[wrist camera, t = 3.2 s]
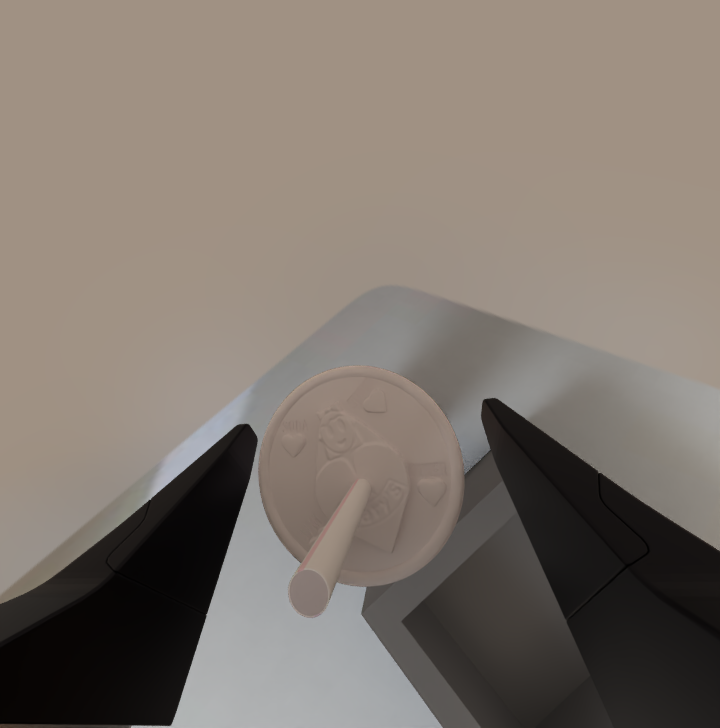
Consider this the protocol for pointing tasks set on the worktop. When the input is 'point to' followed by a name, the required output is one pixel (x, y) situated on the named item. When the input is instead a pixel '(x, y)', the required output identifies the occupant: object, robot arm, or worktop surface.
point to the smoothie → (359, 481)
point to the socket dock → (486, 625)
